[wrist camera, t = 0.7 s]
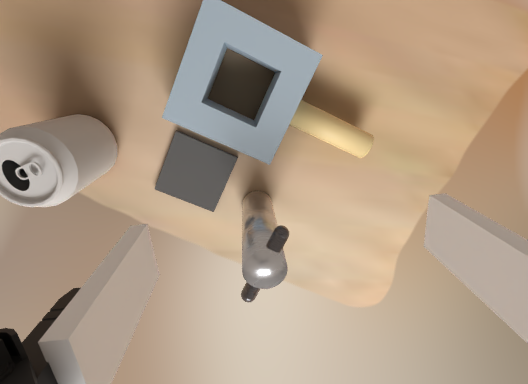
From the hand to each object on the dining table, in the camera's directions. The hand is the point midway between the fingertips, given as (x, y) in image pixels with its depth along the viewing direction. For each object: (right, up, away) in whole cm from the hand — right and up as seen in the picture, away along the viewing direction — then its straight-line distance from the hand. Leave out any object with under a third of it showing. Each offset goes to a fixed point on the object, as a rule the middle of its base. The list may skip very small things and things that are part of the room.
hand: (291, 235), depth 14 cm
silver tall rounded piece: (-2, 0, +27) cm, 27 cm away
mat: (-10, +5, +25) cm, 27 cm away
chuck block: (+1, +13, +22) cm, 26 cm away
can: (-23, +8, +23) cm, 33 cm away
